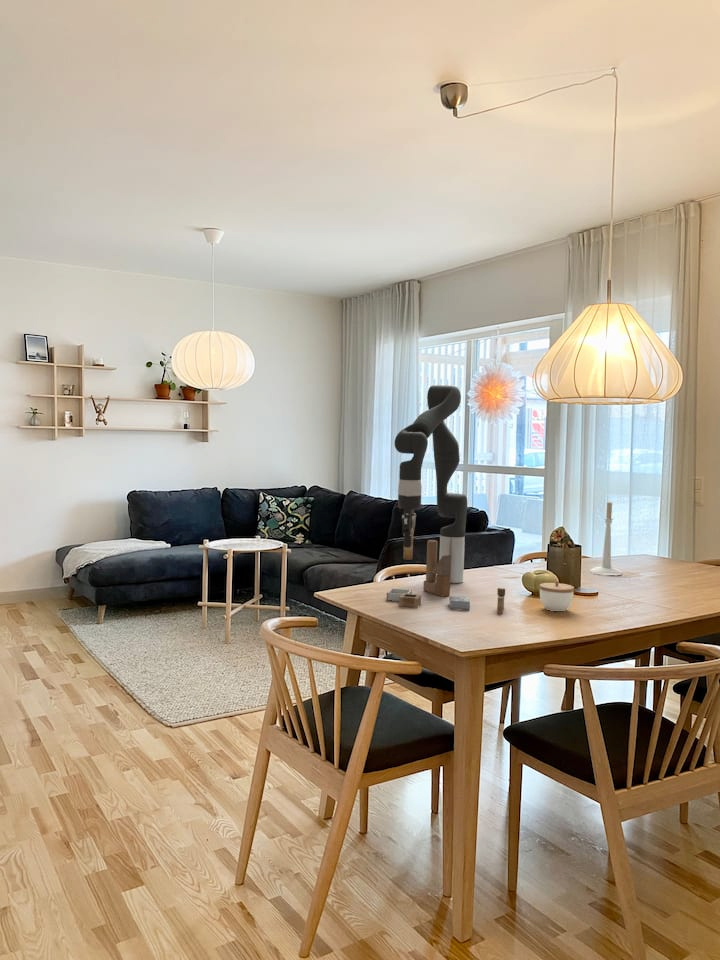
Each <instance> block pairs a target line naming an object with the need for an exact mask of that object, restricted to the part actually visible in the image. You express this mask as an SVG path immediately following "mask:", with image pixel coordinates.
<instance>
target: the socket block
mask: <svg viewBox="0 0 720 960" xmlns="http://www.w3.org/2000/svg"><path fill="white" fill-rule="evenodd" d="M421 603H422V594H419V593H412V594H407V593H403V594H402V595H401V596H400V597H399V602H398V607H403V606H407V607H406V608H414V607H418V606H419V607H420V605H421ZM419 607H418V608H419Z"/></svg>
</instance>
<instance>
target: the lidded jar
mask: <svg viewBox="0 0 720 960" xmlns="http://www.w3.org/2000/svg"><path fill="white" fill-rule="evenodd" d="M574 592H575V587H574V586H573V585H570V584H566V583H560V582H559V580H555V581H554V582H544V583H543V582H542V583H540V584H539V599H540V602H541V604H542V605H543V607H544V608H545V609H547V611H548V610H550V612H553V611H564V612H566V611H565V610H568V609H569V608H570V606H571V605H572V603H573V601H574V594H575V593H574Z"/></svg>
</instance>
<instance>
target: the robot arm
mask: <svg viewBox="0 0 720 960" xmlns="http://www.w3.org/2000/svg"><path fill="white" fill-rule="evenodd" d="M426 395H427V397H426V398H427V407H428V409H427V410H425V411H423V412H422V413H420V414H419V415H418V416H417V417H416V419H415V420H414V421H413V423H411V424H409V425H408V426H406V427H405V428H403V429H401V430H400V431H399V432H398V433H397V434H396V436H395V439H394V448H395V449H396V451H397V452H398V453H401V454H408V455H409V454H412V455H413V456H412V457H411V459H410V460H409V459H408V460H405V461H402V462H400V464H399V479H398V488H397V493H398V494H397V508H398V509H403V510H404V511H403V513H402V515H401V526H402V527H401V528H402V533H401V534H402V535H403V548H404V547H411V535H412V529H413V534H414V533H415V531H416V529H415V527H416V519H417V514H416V513H415V510H418V509H419V510H420V509H421V508H422V466H423V461H424V459H425V456H426V452H427V448H428V443H429V441H428V439H429V438H430V436H431V435H432V444H433V445H432V447H433V448H432V449H433V450H432V451H433V459H434V468H435V477H436V508H437V512H438V515H439V516H440V517H441V518H451V519H455V521H454V522H453V523H451V524H449V525H446V526H443V527H441V528H440V532H439V533H440V535H439V556H438V557H439V558H438V559H439V560H440V559H441V558H442V556H446V555H451V575H450V584H460V583H463V582H464V569H465V568H464V565H465V545H466V544H465V543H466V542H465V540H466V538H465V537H466V526H467V525H466V524H467V514H468V513H467V512H468V497H467V496H466V494H464V493H454V492H448V485H449V483H450V482H449V481H450V479H451V478H452V476H453V474H454V473H455V471H456V470H457V468H458V467H459V464H460V446H459V443H458V440H457V439H456V437H455V436H454V434H453V432H452V431H451V430H450V428H449V427H448V425H447V424H446V422H445V420H447V418H449V417H450V416H451V415H452V414H454V413H455V412H456V411H457V410H458V409H459V407H460V405H461V400H462V395H461V390H460V388H459V386H455V385H442V384H441V385H439V384H437V385H431V386H430V387H428V390H427V393H426ZM406 529H408V531H406ZM439 560H438V561H439Z"/></svg>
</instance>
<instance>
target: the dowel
mask: <svg viewBox="0 0 720 960" xmlns="http://www.w3.org/2000/svg"><path fill="white" fill-rule="evenodd" d="M406 531H408V529H406ZM413 550H414V533H413V529H412V535H411V547H404V546H403V554H402V556H403V557H402V558H403V560H407V561H408V560H411V561H412V560H413V557H414V556H413V555H414V553H413V552H414V551H413Z"/></svg>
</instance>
